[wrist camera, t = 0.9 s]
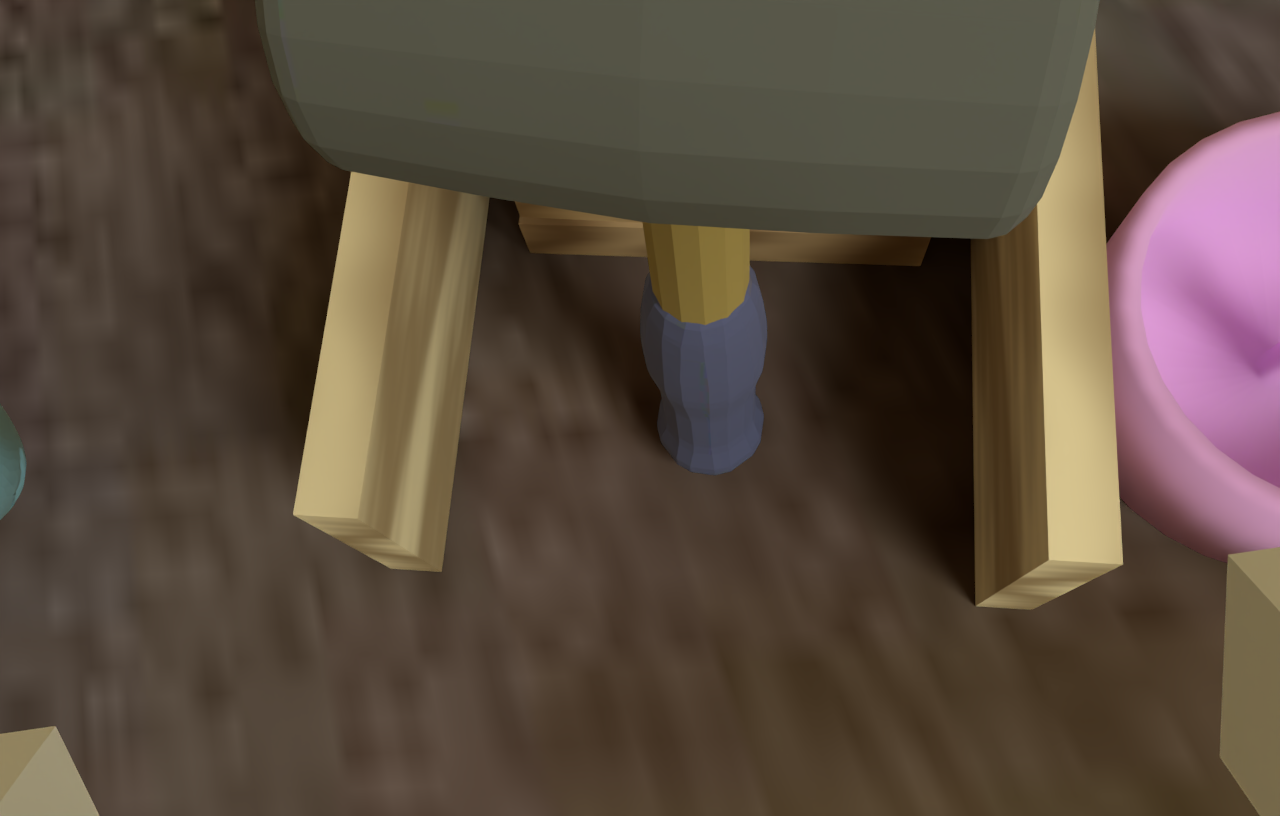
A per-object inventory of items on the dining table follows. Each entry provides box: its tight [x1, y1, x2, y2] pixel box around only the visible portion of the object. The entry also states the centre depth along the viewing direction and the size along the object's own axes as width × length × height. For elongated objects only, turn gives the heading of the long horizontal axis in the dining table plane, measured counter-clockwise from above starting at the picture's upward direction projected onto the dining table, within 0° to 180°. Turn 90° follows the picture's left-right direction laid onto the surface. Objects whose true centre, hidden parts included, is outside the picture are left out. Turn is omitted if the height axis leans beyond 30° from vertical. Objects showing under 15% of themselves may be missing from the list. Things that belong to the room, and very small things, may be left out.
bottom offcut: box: [519, 216, 931, 266], centre depth 45 cm, size 16×5×3 cm, turn 86°
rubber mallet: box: [255, 0, 1099, 475], centre depth 29 cm, size 12×8×30 cm, turn 81°
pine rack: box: [293, 29, 1123, 610], centre depth 40 cm, size 24×22×10 cm
